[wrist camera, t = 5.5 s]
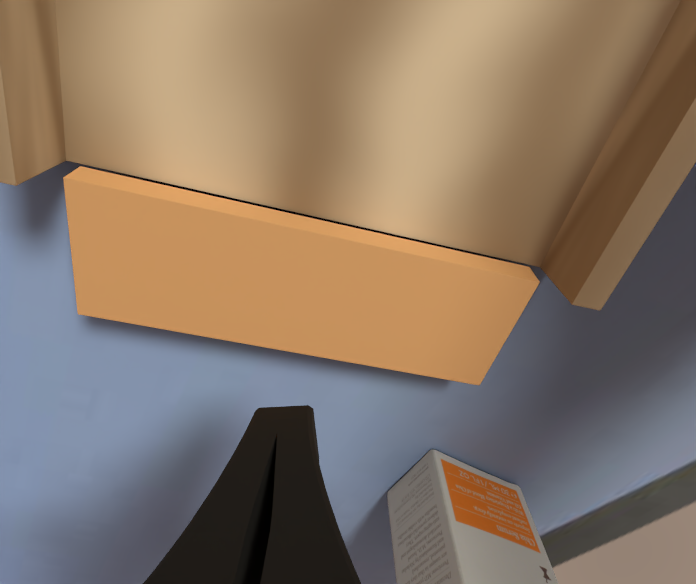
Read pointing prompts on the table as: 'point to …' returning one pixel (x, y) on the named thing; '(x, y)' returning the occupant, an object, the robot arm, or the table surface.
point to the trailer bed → (376, 113)
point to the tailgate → (286, 280)
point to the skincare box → (463, 528)
